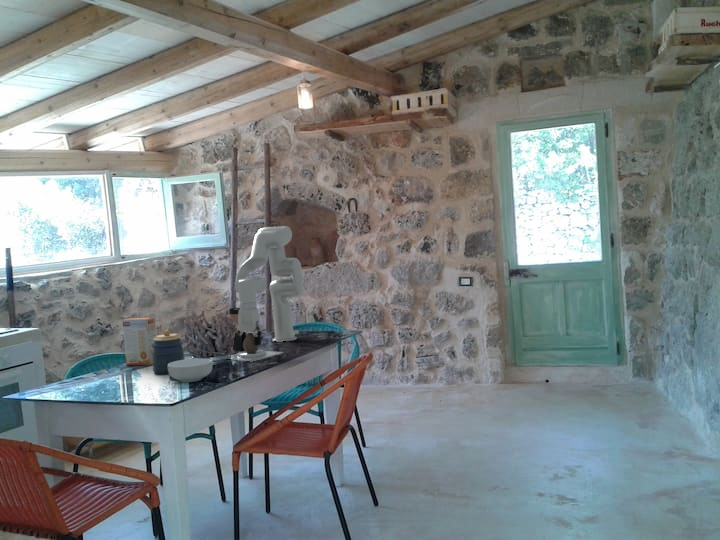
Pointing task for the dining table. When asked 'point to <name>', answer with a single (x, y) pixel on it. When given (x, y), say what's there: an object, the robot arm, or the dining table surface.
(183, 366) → the cereal bowl
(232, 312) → the travel mug
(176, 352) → the canister
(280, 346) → the dining table surface
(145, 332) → the cracker box
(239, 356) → the flange plate
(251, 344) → the vase
